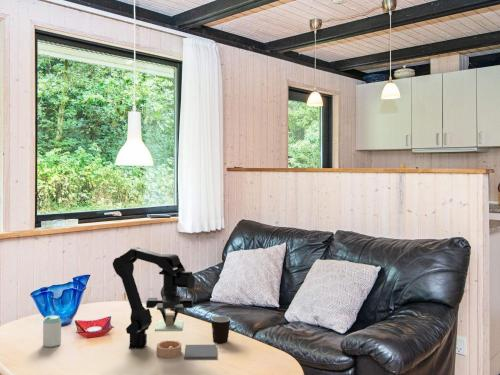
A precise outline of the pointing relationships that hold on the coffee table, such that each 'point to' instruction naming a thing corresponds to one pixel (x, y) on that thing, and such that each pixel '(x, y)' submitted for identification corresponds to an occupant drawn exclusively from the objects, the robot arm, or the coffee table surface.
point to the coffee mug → (220, 329)
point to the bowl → (169, 349)
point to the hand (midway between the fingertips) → (169, 323)
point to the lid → (169, 324)
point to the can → (52, 331)
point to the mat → (200, 352)
